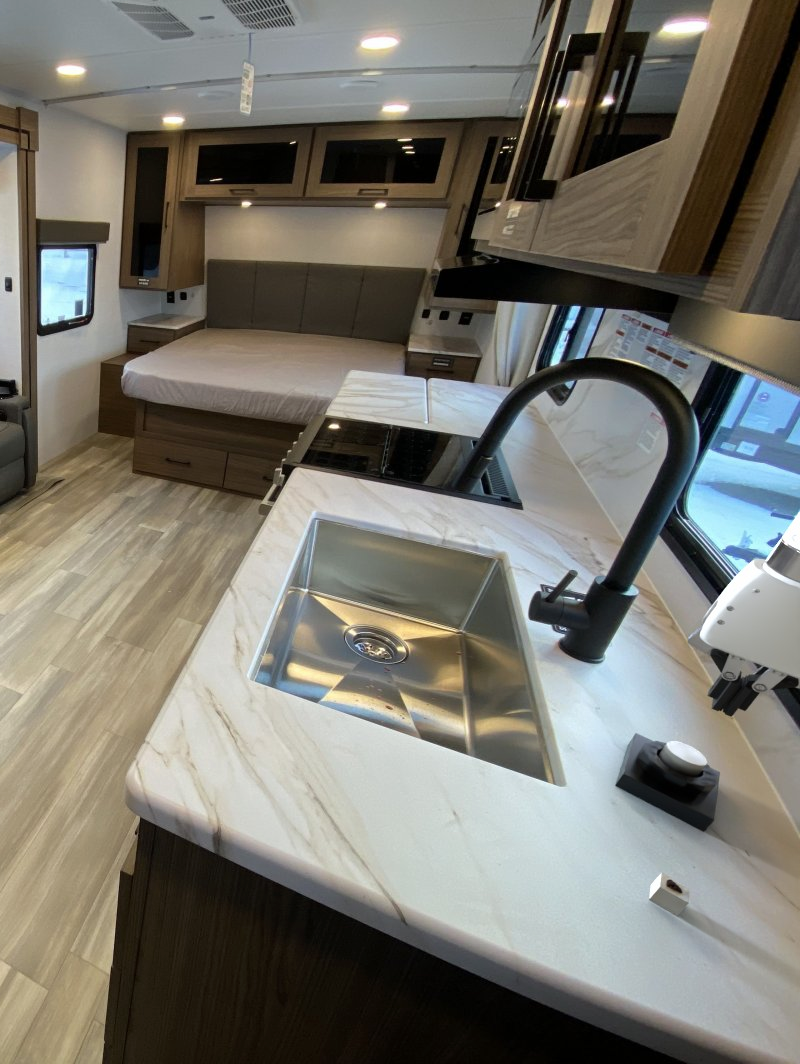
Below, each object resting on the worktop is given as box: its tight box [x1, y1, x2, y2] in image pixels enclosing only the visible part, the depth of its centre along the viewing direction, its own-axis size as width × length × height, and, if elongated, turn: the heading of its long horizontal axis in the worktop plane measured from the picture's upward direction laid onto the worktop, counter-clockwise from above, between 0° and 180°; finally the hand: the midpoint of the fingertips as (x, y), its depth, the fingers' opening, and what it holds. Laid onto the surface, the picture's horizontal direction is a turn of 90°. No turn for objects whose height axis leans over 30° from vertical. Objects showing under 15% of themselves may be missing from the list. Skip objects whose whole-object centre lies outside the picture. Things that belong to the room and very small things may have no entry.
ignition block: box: [614, 732, 721, 833], centre depth 70 cm, size 10×8×4 cm
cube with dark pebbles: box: [648, 872, 691, 917], centre depth 58 cm, size 2×2×2 cm
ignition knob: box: [659, 740, 709, 777], centre depth 69 cm, size 4×4×2 cm
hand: (722, 706), depth 65 cm, fingers closed
